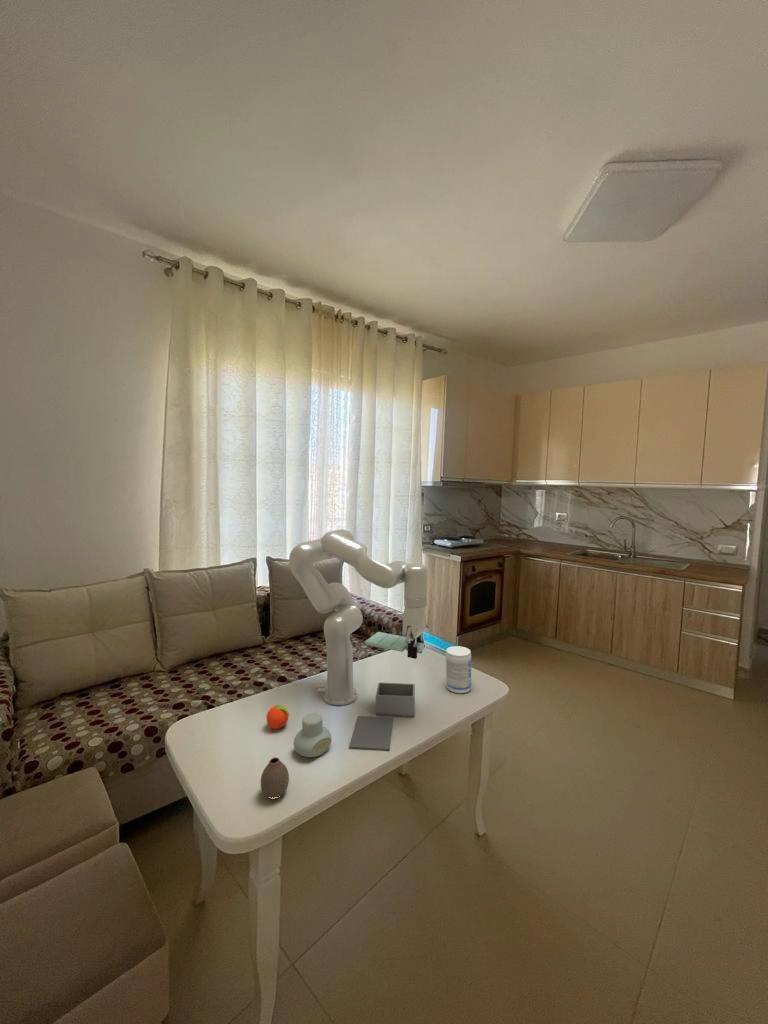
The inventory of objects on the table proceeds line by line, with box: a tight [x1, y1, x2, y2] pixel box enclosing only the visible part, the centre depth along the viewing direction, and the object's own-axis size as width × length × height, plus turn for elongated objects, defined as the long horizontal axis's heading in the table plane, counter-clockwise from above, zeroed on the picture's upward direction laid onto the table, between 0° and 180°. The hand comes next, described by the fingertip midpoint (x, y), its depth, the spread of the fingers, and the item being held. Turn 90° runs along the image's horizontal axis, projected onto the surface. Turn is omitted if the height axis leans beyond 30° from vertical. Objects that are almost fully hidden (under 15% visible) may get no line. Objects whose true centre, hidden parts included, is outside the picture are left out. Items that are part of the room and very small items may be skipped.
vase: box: [260, 756, 290, 798], centre depth 100 cm, size 7×7×9 cm
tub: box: [375, 682, 416, 718], centre depth 138 cm, size 13×9×7 cm
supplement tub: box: [445, 645, 472, 694], centre depth 152 cm, size 10×10×15 cm
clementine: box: [266, 704, 291, 730], centre depth 128 cm, size 8×7×7 cm
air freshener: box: [293, 712, 332, 758], centre depth 116 cm, size 11×8×10 cm
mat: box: [348, 715, 394, 752], centre depth 125 cm, size 12×16×1 cm
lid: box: [364, 631, 425, 654], centre depth 136 cm, size 19×10×2 cm, turn 64°
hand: (414, 654), depth 133 cm, fingers closed on lid, 4 cm apart
